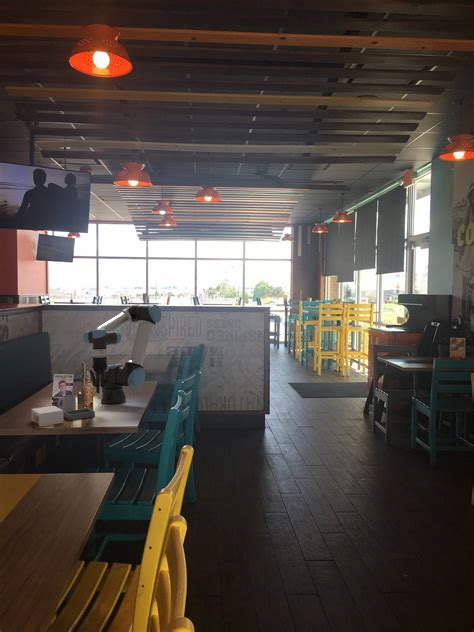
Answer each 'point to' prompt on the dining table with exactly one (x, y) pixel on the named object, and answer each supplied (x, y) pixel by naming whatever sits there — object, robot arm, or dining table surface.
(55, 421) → the small white side table
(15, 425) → the dining table surface
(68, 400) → the cup
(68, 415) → the grey storage tray
